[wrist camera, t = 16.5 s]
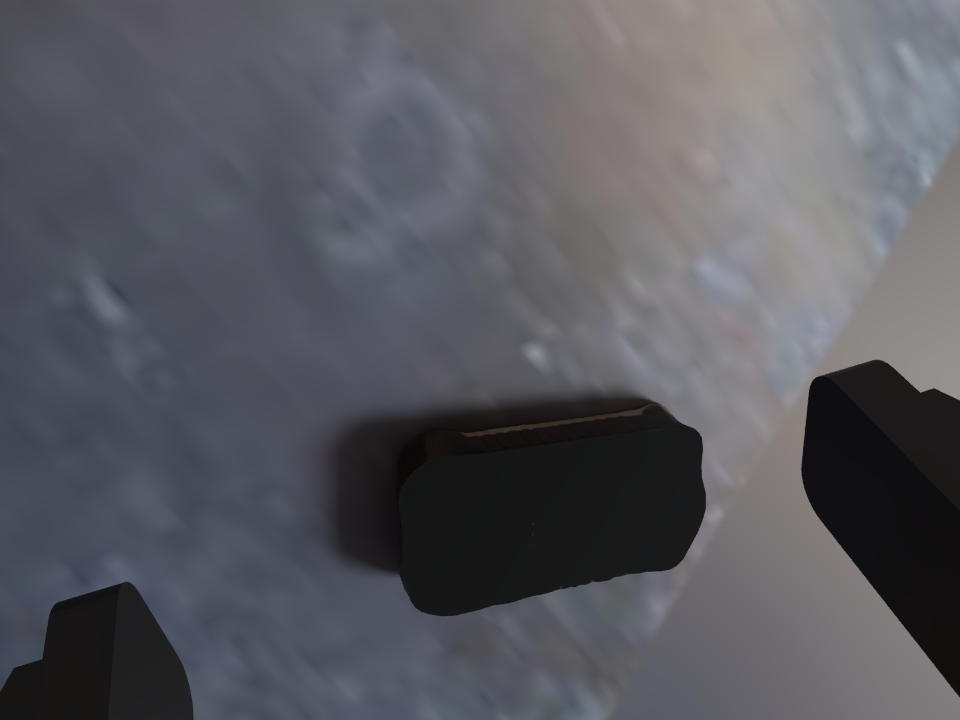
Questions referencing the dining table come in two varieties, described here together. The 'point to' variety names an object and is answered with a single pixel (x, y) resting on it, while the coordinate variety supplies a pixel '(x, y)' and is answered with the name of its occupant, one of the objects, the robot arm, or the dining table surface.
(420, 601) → the black sponge
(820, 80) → the dining table surface
